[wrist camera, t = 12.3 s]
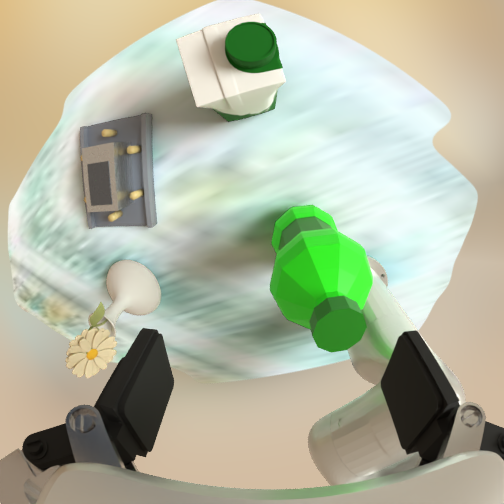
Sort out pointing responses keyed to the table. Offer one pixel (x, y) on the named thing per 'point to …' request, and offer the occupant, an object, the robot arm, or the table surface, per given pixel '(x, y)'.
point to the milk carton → (233, 67)
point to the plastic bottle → (320, 277)
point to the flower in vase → (113, 316)
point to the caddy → (142, 169)
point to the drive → (107, 176)
